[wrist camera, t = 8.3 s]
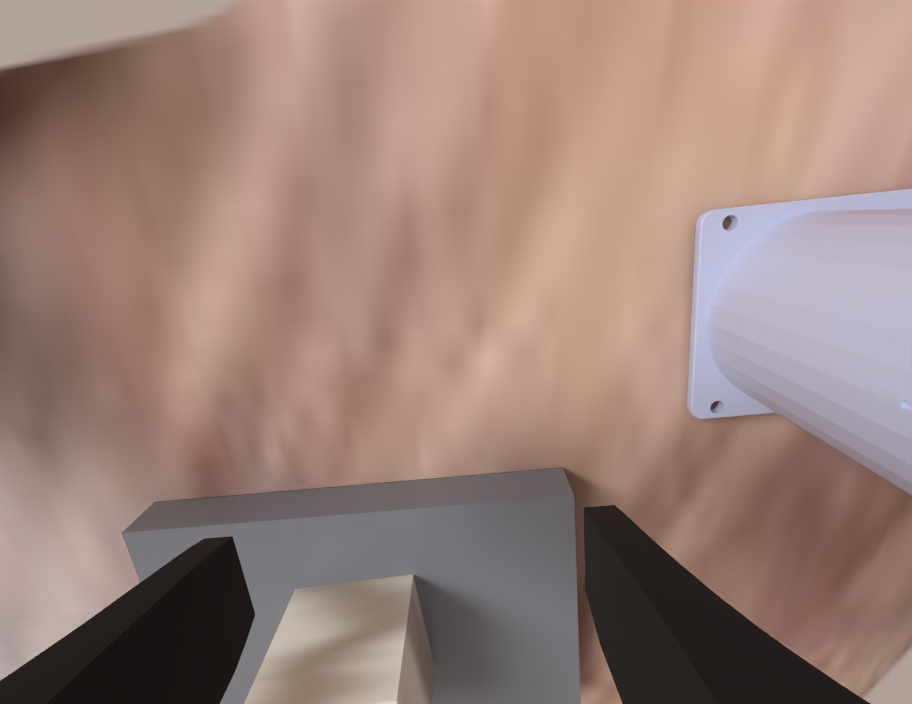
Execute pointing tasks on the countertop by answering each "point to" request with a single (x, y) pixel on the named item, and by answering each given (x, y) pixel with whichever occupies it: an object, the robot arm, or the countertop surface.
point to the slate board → (409, 570)
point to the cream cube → (349, 647)
